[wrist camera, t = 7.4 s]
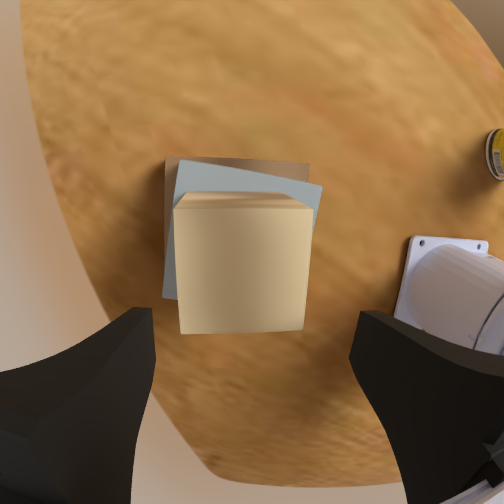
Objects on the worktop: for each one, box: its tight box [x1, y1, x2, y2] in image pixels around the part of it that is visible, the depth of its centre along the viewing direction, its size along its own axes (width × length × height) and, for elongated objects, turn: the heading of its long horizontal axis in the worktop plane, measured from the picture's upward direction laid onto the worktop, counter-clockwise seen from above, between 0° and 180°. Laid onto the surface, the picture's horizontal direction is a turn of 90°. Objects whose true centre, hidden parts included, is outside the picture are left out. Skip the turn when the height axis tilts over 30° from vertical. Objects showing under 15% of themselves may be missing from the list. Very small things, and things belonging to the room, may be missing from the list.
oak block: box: [173, 191, 313, 334], centre depth 13 cm, size 4×4×5 cm
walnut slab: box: [164, 157, 310, 261], centre depth 19 cm, size 8×8×2 cm
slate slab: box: [162, 160, 323, 300], centre depth 17 cm, size 7×7×2 cm
